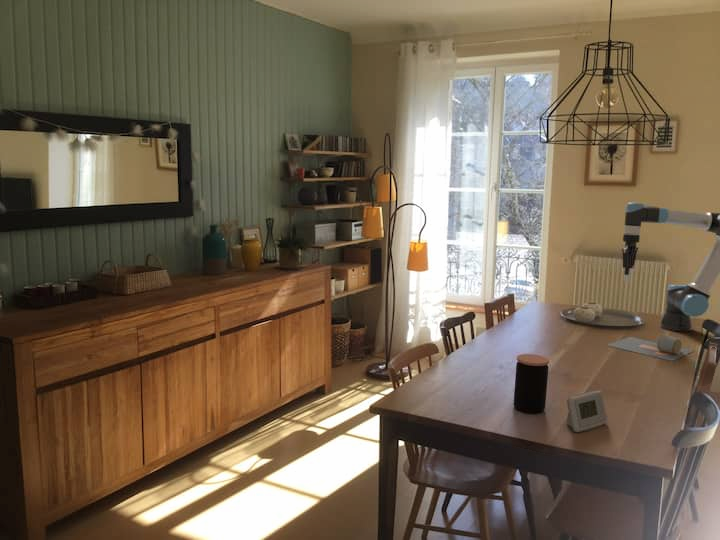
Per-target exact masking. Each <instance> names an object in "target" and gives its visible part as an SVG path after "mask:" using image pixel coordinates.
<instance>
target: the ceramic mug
mask: <svg viewBox="0 0 720 540" xmlns="http://www.w3.org/2000/svg"><path fill="white" fill-rule="evenodd" d="M656 343H657V349H658V350H660V351H664V352H667V353H671V354H677V353H678V352H679V351H680V349H681V348H682V342H681V340H680V339H679V338H677V337H674V336H670V335H667V334H664V333H662V334H661V335H660V336H659V337H658V338H657V341H656Z"/></svg>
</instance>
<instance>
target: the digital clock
mask: <svg viewBox="0 0 720 540" xmlns="http://www.w3.org/2000/svg"><path fill="white" fill-rule="evenodd" d="M604 400H605V399H604V395H603V392H602V391H601V390H594V391H592V390H591V391H586V392H584V393H579V394H576V395H574V396H570V397H568V398H567V399H566V404H567V409H568V412H567V418H566V419H567V420H566V426H569V427H571V429H572V431H573V432H574V433H580V432H585V431H589V430H592V429H595V428H599V427H601V426H602V425H606V424H608V421H609V419H608V415H607V410H606V406H605V405H606V404H605V401H604Z"/></svg>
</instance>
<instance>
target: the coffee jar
mask: <svg viewBox="0 0 720 540" xmlns="http://www.w3.org/2000/svg"><path fill="white" fill-rule="evenodd" d="M516 360H517V362H516V365H515V378H514V379H515V380H514V390H513V391H514V392H513V393H514V394H513V404H512V405H513V406H514V408H515V409H516V411H518V412H521V413H524V414H529V415H537V414H541V413H543V412H544V410H546V401H547V391H548V388H547V387H548V379H549V378H548V377H549V363H550V359H549V358H548V357H546V356H543V355H540V354H534V353H521V354H519V355H517V356H516Z"/></svg>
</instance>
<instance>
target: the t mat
mask: <svg viewBox="0 0 720 540" xmlns="http://www.w3.org/2000/svg"><path fill="white" fill-rule="evenodd" d="M638 344H639V345H638ZM606 346H607V347H611V348H616V349H620V350H622V351H623V350H624V351H627V350H628V352H631V351H632V352H631V353H635V352H636V354H640V355H645V356H648V355H649V356H648V357H652V356H653V357H652V358H656V357H657V359H660V358H661V360H664V359H665V361H669V362H674V361H676V360H679V359H681V358H683V357H684V355H685V356H687V355H689V354H691V353H694V352H693V351H694V350H690V349H685V348H682V347H681V349H680V351H679V352H678V353H677V354H671V353H667V352H664V351H660V350H658V349H657V342H653V341H650V340H645V339H641V338H636V337H633V336H627V337H625V338H623V339H620V340H617V341H614V342H612V343H609V344H606ZM688 353H689V354H688ZM682 356H683V357H682ZM680 357H681V358H680ZM673 360H674V361H673Z"/></svg>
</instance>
